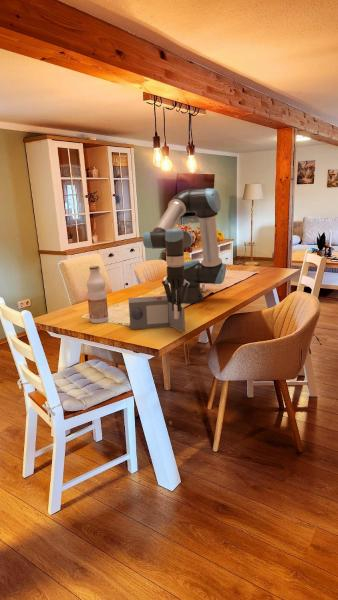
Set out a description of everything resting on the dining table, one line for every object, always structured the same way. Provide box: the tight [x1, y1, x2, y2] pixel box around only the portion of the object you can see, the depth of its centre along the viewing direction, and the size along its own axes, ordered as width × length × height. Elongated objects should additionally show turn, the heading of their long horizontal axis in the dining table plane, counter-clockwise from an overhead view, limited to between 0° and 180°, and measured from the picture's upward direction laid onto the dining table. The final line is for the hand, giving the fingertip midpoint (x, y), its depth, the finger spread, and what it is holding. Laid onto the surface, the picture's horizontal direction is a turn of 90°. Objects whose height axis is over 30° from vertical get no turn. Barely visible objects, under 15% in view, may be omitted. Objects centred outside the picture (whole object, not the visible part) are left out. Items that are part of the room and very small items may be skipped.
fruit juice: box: [86, 265, 109, 324], centre depth 199 cm, size 9×9×28 cm
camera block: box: [128, 295, 171, 331], centre depth 190 cm, size 19×10×14 cm, turn 97°
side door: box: [168, 302, 186, 333], centre depth 182 cm, size 12×2×12 cm, turn 29°
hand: (177, 318), depth 176 cm, fingers closed
